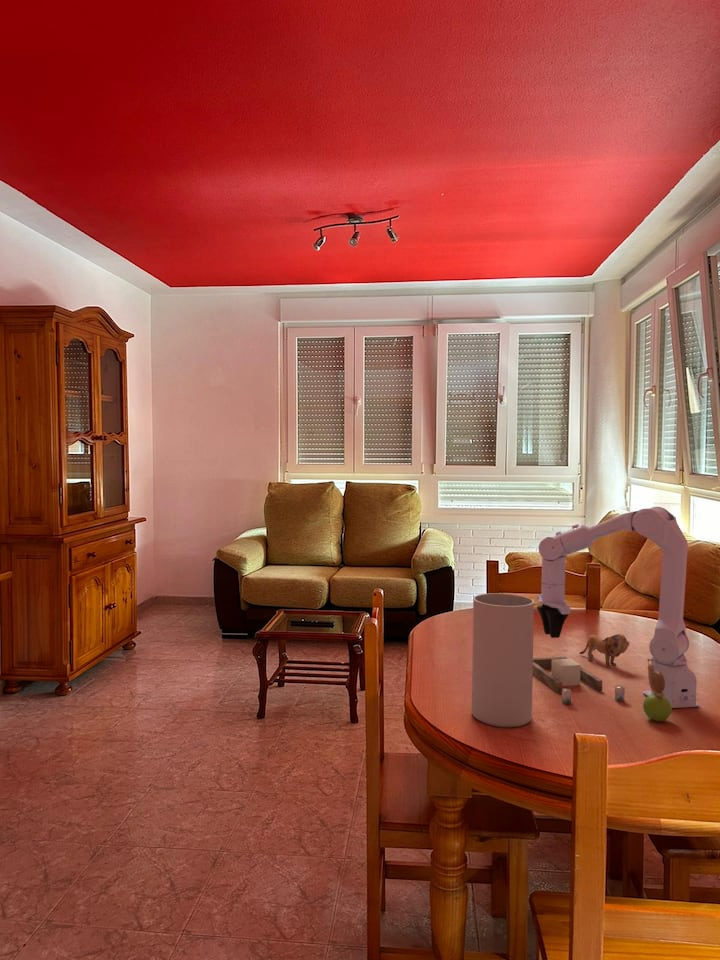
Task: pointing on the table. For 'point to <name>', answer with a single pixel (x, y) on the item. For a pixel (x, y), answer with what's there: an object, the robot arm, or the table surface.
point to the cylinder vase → (502, 659)
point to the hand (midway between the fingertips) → (552, 635)
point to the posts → (567, 692)
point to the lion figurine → (607, 647)
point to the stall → (556, 684)
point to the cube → (566, 671)
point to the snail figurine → (656, 696)
